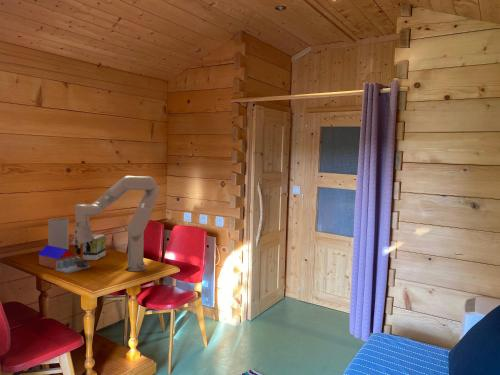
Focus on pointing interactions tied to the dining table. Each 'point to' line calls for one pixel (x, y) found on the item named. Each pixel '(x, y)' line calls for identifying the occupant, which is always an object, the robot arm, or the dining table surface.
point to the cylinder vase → (58, 232)
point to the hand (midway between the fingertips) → (83, 252)
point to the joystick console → (68, 265)
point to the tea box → (95, 248)
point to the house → (53, 256)
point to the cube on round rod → (81, 263)
